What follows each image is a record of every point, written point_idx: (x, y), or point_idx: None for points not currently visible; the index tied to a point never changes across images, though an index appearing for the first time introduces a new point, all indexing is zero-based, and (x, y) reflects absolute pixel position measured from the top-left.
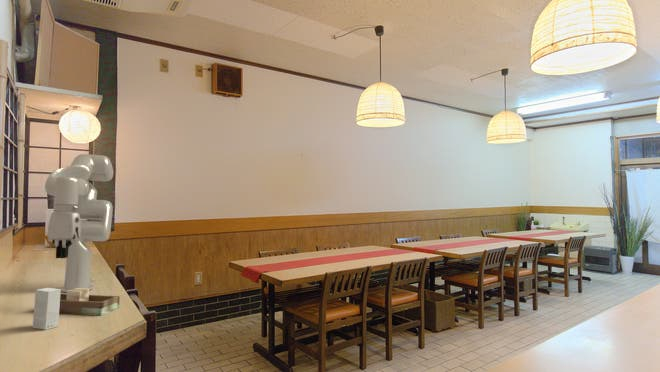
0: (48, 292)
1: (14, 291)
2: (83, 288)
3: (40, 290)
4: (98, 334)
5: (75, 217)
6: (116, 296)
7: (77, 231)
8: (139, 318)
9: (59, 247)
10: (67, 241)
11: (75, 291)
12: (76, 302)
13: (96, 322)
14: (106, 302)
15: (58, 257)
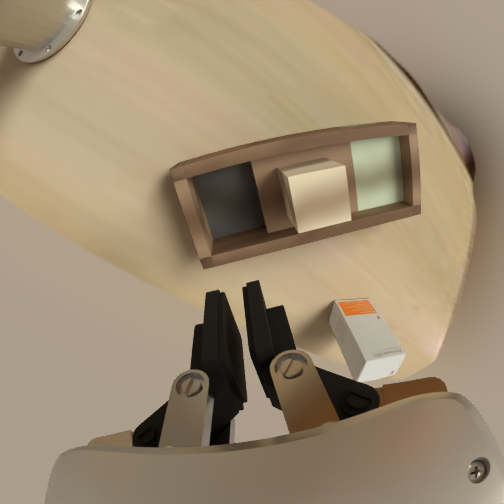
0: (394, 373)
1: None
2: (320, 172)
3: (371, 380)
4: (446, 289)
5: None
6: (408, 127)
7: (461, 497)
8: (468, 191)
9: (239, 399)
10: (289, 423)
11: (333, 224)
12: (348, 231)
13: (418, 246)
14: (418, 192)
15: (238, 335)
